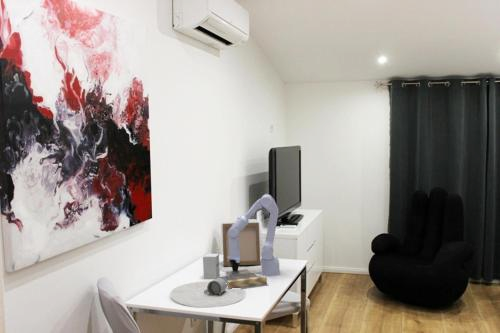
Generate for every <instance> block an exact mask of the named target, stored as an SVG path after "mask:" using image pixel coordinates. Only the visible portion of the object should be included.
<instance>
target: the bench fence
mask: <svg viewBox="0 0 500 333" xmlns="http://www.w3.org/2000/svg"><path fill="white" fill-rule="evenodd" d="M255 275H256V274H255ZM255 275H251V278H244V279H240V277H236V280H229V281H227V286H228V288H229V289H232V288H242V287H249V286H257V285H264V284H267V285H268V279H267V278H268V276H262V275H259V276H258V277H255ZM228 288H227V289H228ZM229 289H228V290H229Z"/></svg>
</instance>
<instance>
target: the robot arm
mask: <svg viewBox="0 0 500 333" xmlns="http://www.w3.org/2000/svg"><path fill="white" fill-rule="evenodd" d="M263 208H264V209H266V210H267V211H268V212H269V219H268V225H267V229H266V230H267V231H266V234H265V242H264V245H263V247H262V250H261V253H260V256H261V257H260V265H261V272H259V275H260V276H266V277H273V276H274V277H275V276H280V275H281V272H280V261H279V259H278V257H275V256H274V241H275V235H276V229H277V224H278V217H279V207H278V205H277V203H276V200H275V199H274V198H273V197H272V195H271V194H268V193H265V194H263V195H262V196H261V198H259V199H258V200H256V201H255V202H254V203H253V204H252V206H251V207H250V208H249V210H248V211H247V212H246V213H245V214H244V215H240V216H238V217H237V218H236V219H237V220H236V221H235V222H233V223H234V224H232V223H231V224H232V227H231V228H230V229H229V230H228V235H229V257H227V258H228V259H229V258H230V259H232V260H229V261H230V263H231V265H230V266H231V269H232V270H231V271H237V270H239V267H240V265H239V264H240V262H241V261H240V249H239V235H238V234H239V232H240V231H242V230H243V229H244V227H245V226H246V225H247V224H248V223H250V222H249V220H250V218H251V217H252V216H253V215H254V214H255V213H256V212H257V211H258V210H261V209H263Z"/></svg>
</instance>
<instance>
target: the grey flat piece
mask: <svg viewBox="0 0 500 333" xmlns="http://www.w3.org/2000/svg"><path fill="white" fill-rule="evenodd" d="M251 273H252V272H251V271H250V270H249V269H247V268H246V269H238V270H237V271H233V270H230V271H226V272H225V276H226V278H227V279H228V280H236V277H240V279H244V278H251Z"/></svg>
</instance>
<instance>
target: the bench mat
mask: <svg viewBox="0 0 500 333" xmlns="http://www.w3.org/2000/svg"><path fill="white" fill-rule="evenodd" d="M251 275H255V277H259V276H258V275H256V274H255V272H251ZM218 278H222V279H224V280H225V282H226V283H227V281H229V280H228V279H227V278H226V275H225V276H219V277H218ZM268 286H269V284H268V283H267V284H264V285H257V286H249V287H242V288H241V289H240V290H246V289H252V288H261V287H268Z"/></svg>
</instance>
